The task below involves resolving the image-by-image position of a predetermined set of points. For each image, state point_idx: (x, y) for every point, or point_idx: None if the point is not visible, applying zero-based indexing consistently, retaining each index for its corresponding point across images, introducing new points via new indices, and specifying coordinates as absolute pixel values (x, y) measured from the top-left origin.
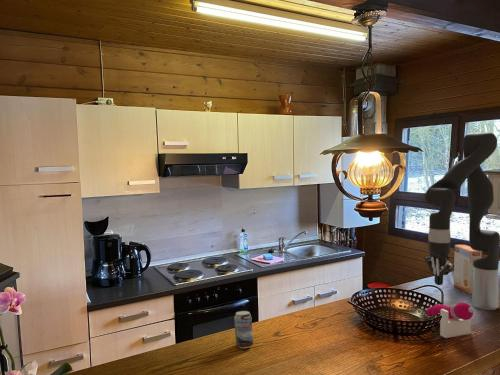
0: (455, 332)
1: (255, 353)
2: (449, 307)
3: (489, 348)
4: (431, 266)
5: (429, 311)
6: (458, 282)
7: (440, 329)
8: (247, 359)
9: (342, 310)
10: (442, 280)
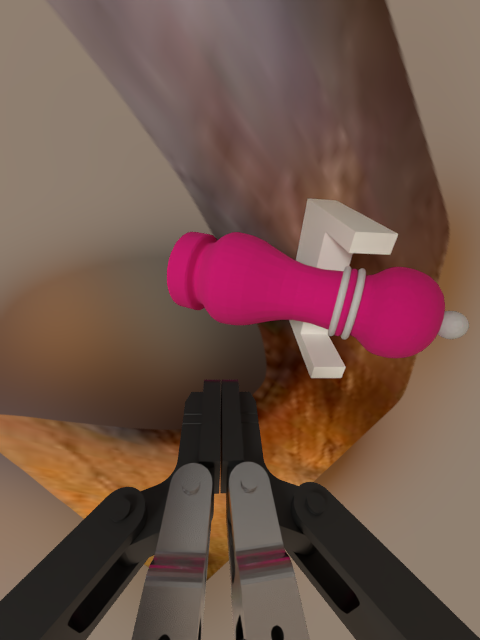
0: None
1: None
2: (305, 317)
3: (433, 241)
4: (107, 603)
5: (198, 308)
6: None
7: (291, 323)
8: (219, 546)
9: (46, 434)
10: (257, 423)
